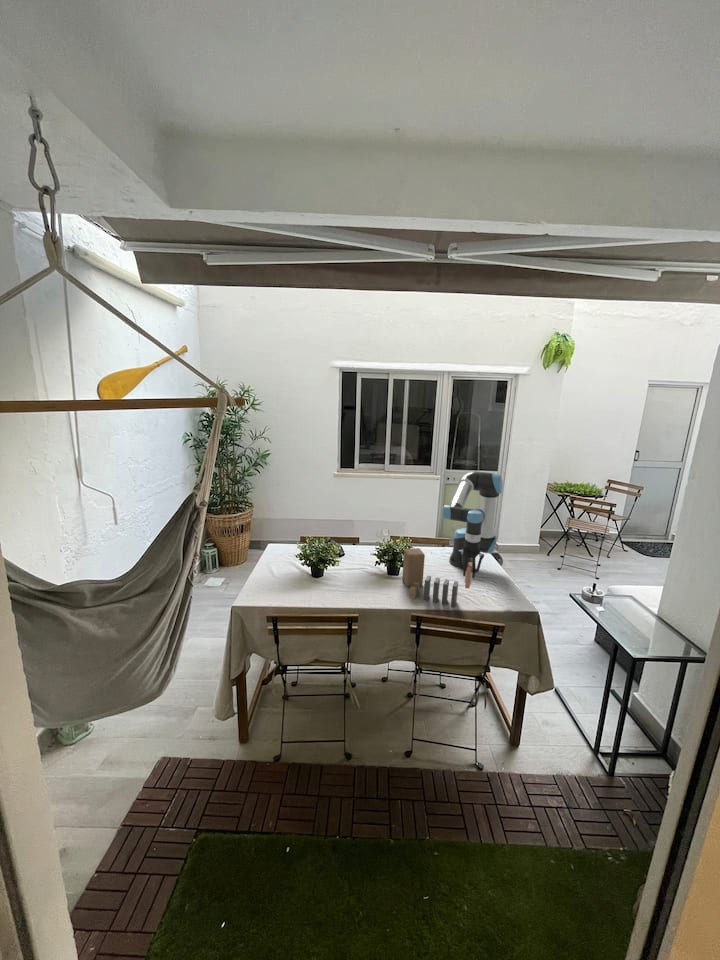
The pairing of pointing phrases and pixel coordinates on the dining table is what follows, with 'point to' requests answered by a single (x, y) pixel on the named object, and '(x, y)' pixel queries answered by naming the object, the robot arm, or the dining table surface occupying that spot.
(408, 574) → the block
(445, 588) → the domino
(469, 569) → the domino
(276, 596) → the dining table surface
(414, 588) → the end stop
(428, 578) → the domino
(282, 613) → the dining table surface
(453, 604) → the domino
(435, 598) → the domino
